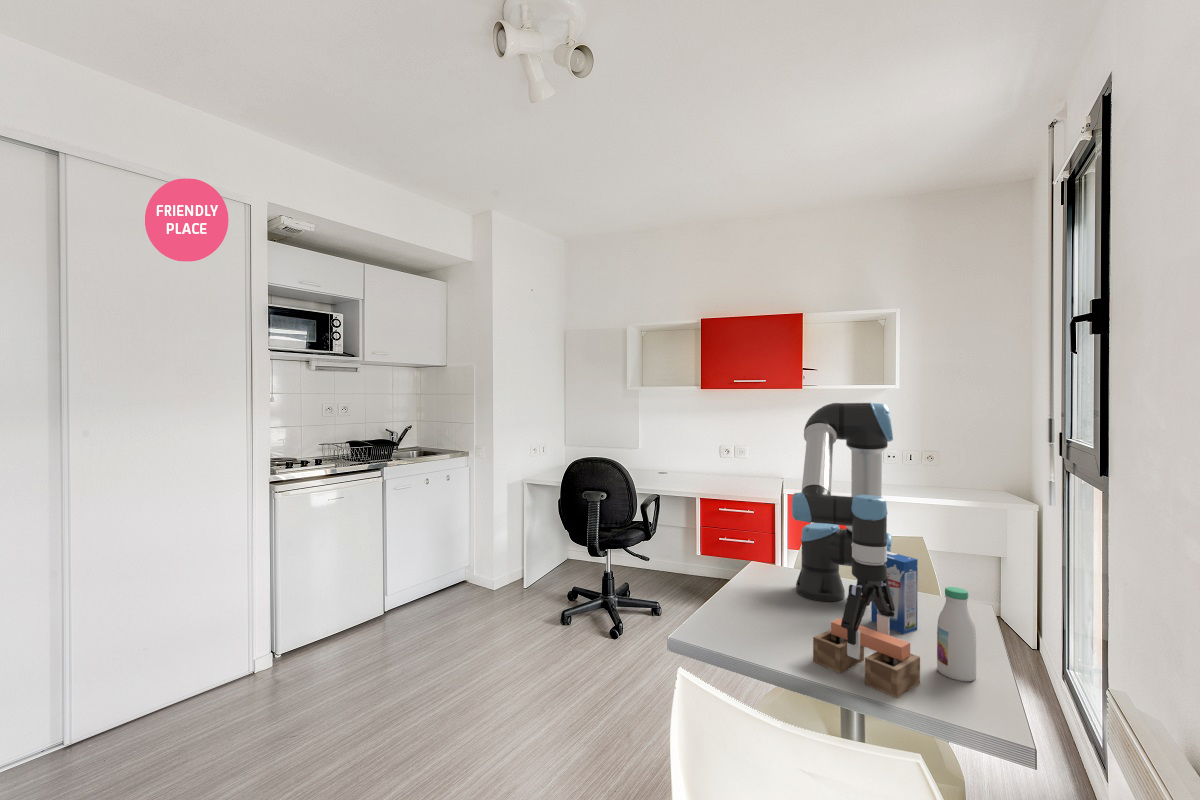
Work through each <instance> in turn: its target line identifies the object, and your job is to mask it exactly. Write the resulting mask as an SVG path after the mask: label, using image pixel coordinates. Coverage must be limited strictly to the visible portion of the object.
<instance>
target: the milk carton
mask: <svg viewBox="0 0 1200 800" xmlns="http://www.w3.org/2000/svg"><path fill="white" fill-rule="evenodd" d="M918 560H919V559H917V558H914V557H911V556H906V555H903V554H899V553H896V552H892V551H891V552H889V551H887V561H886V562H885V564H886V565H887V577H888V585H889V589H890V593H891V596H892V600H893V604H894V607H895V611H894V617H891V616H889V617H890V630H892V631H894V632H897V633H899V634H902V635H906V634H909V633H912V632H916V631H918V591H919V590H918V585H919V583H918V581H919V579H918V567H919V566H918ZM870 604H871V607H870V608H871V609H870V610H871V611H870V613H871V614H870V615H871V616H870V617H871V622H872V623H874V624H877V614H881V613H879V611H878V609H877V607H876V605H875V603H874V602H873V600H872V601H871V602H870ZM887 605H889V604H887ZM891 612H892V611H891Z"/></svg>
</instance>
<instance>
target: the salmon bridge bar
mask: <svg viewBox="0 0 1200 800" xmlns="http://www.w3.org/2000/svg"><path fill="white" fill-rule="evenodd" d="M841 622H842V618H840V617H839V618H838V619H835V620H832V621H830V624H831V625H830V630H831V634H833V635H835V636H838V637H840V644H841V643H843V642H844V639H846V640H847V629H846V628H843V627H841ZM858 630H860V645H862V646H864V648H867V649H870V650H873V651H875V652H880V653H882V654H885V655H888V656H890V657H893V664H891V666H893V667H894V666H896V665H898V660H901V661H902V660H904V659H906V658H908V657H909V656H910V653H911V642H908V641H906V640H903V639H900V638H898V637H894V636H891V635H890V636H889V635H886V634H883V633H881V632H878V631H877V630H875V629H872V628H869V627H867V626H866V627H865V626H862V625H861V624H860V625H859V628H858Z"/></svg>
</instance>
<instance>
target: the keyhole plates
mask: <svg viewBox="0 0 1200 800" xmlns="http://www.w3.org/2000/svg"><path fill="white" fill-rule="evenodd" d="M812 639H813V640H812V646H813V647H812V662H813V663H815V664H818V665H820V666H822V667H824V668H827V669H829V670H832V671H833V672H836V673H838V674H841V673H843V672H845V671H847V670H849V669H851V668H853V667H855V666H857V665H858V664H861V663H862V662H864V685H866V686H868V687H871V688H872V689H874V690H877V691H879V692H881V693H883V694H886V695H888V696H891V697H892V698H896V699H898V698H900V697H902V696H903V695H904V694H906V693H908V692H909V691H910V690H912V689H914V688H916V686H919V685H920V684H921V656H919V655H916V654H913V653H911V652H910V656H909V657H908V658H906V659H904V660H902V661H901V660H898V665H896V666H894V667H893V666H891V664H893V657H890V656H888V655H885V654H882V653H880V652H877V651H875V652H873V653H872V654H870V655H868V656H866V657H865V647H864V646H862V645H860V659H859V660H858V659H855V658H853V657H850V656H848V655H847V640H846V639H844V642H843V643H841V644H840V637H838V636H835V635H833V634H831V629H828V630H827V631H824V632H821V633H820V634H817V635H815V636H813V638H812Z"/></svg>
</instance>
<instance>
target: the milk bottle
mask: <svg viewBox="0 0 1200 800" xmlns="http://www.w3.org/2000/svg"><path fill="white" fill-rule="evenodd" d="M944 594H945V595H944V597H945V603H944V604H943V607H942V610H941V611H940V612H939V615H938V618H937V624H936V625H937V627H936V628H937V629H936V631H937V632H936V634H937V635H936V653H937V654H936V667H937V670H938V672H939V673H940V674H941V675H943V676H945V677H947V678H950V679H952V680H956V681H960V682H973V681H975V679H976V678H977V629H976V623H975V620H974V619H973V618H974V617H973V616H972V614H971V611H970V609H969V606H968V602H969V592H968V590H966V589H964V588H962V587H957V586H946V587H944Z"/></svg>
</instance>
